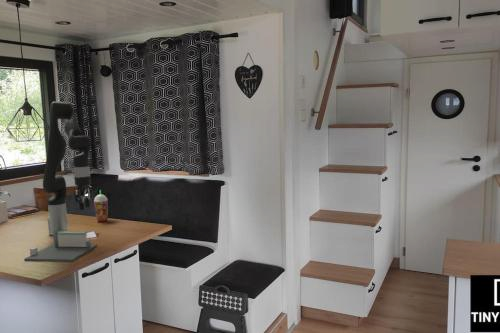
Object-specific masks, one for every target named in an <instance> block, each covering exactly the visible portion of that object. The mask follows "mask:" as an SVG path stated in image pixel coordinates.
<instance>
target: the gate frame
mask: <svg viewBox="0 0 500 333" xmlns="http://www.w3.org/2000/svg"><path fill="white" fill-rule="evenodd" d="M53 233H54V235H53V240H54V241H53V242H54V243H52V244H50V245H48V246H46V247H44V248H42V249H41V250H39V251H38V247H37V246H36V247H31V248H29V256H27V257H25V258H24V259H23V260H24V261H25V262H70V263H73V262H74V261H76V260H78V259H79V258H81V257H82V256H84V255H85V254H87V253H89V252H90V251H92V250H93V249H95V248H97V247H98V244H97V243H92V242H91V240H87V246H86V247H59V244H58V235H57V230H54V231H53Z"/></svg>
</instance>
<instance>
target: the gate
mask: <svg viewBox="0 0 500 333" xmlns="http://www.w3.org/2000/svg"><path fill="white" fill-rule="evenodd" d="M57 235H58V244H59V247H86V246H87V241H88V235H87V231H68V232H58V233H57Z"/></svg>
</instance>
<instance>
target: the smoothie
mask: <svg viewBox="0 0 500 333" xmlns="http://www.w3.org/2000/svg"><path fill="white" fill-rule="evenodd" d="M108 202H109V200H108V197H107V196H106V195H104V194H102V190H101V189H100V190H99V194H97V195H96V196H95V197H94V200H93V203H94V204H93V205H94V210H95V211H94V212H95V218H96V221H97V223H105V222H108V219H109V209H108V208H109V206H108V205H109V204H108Z"/></svg>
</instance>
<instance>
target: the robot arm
mask: <svg viewBox="0 0 500 333" xmlns="http://www.w3.org/2000/svg"><path fill="white" fill-rule="evenodd" d="M58 120H66V122H65V124H64V131H65V133H66V135H67V137H68V142H66V139H65V137H64V136H63V134H62V132H61V130H60V128H59V124H58ZM48 131H49V132H48V133H49V134H48V140H47V151H46V161H45V169H44V173H43V179H42V189H43V191H44V192H45V193H46V194H52V196H51V197H49V199H47V208H48V209H47V210H48V217H47V226H48V235H51V236H54V233H53V231H54V230H57V233H58V232H69V229H68V226H69V225H68V216H67V214H68V213H67V206H66V204H67V203H66V200H67V183H66V179H65V177H64V176H63V175H61V174H58V175H56V174H57V170H58V169H59V166H60V164H61V163H62V161H63V160H64V158H65V155H66V151H67V144H68V148H69V149H70V150H72V151H82V152H81V153H78V154H76V155H74V156H73V160H72V161H73V176H74V185H75V186H76V187H77V190H74V191H73V194H74V199H75V202H76V203H78V206H79V210H80V211H84V210H85V208H90V207H91V201H90V200H91V199H93V186H90V185H92V180H91V179H92V178H91V171H90V170H91V169H90V163H89V161H90V160H89V155H90V149H91V146H92V145H91V144H92V140H91V138H90V137H89V135H83V132H82V129H81V127H80V126H79V124H78V122H77V117H76V113H75V109H74V106H73V105H72V104H71V103H69V102H64V101H52V102H51V103H50V107H49V130H48Z"/></svg>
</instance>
